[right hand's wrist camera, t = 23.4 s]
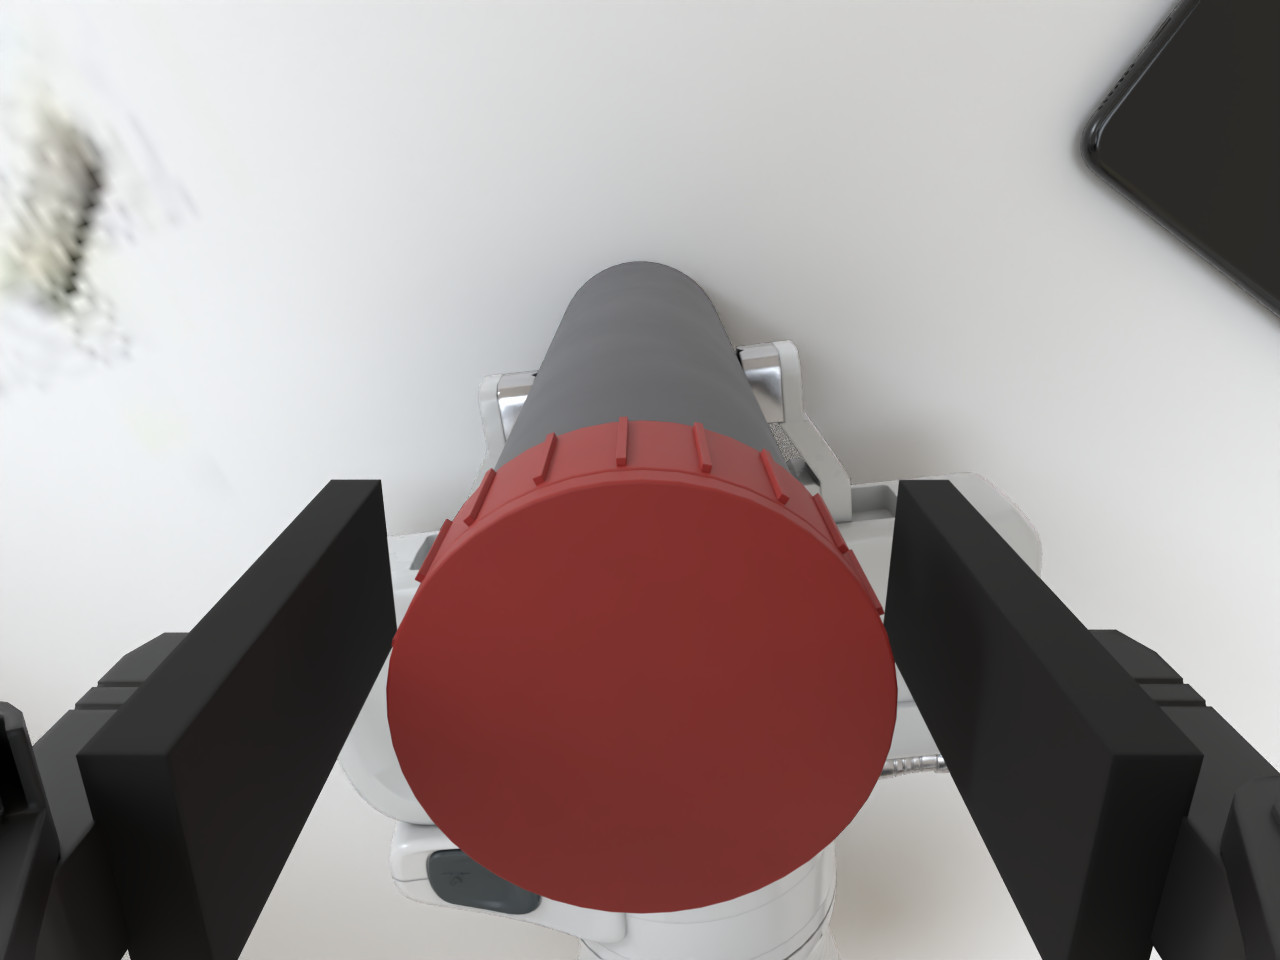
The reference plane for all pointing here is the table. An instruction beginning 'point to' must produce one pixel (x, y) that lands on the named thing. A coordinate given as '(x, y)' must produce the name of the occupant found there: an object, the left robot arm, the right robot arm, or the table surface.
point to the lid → (642, 672)
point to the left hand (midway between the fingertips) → (635, 362)
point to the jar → (640, 364)
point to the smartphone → (1203, 137)
